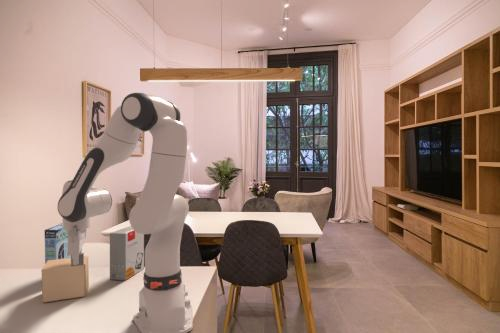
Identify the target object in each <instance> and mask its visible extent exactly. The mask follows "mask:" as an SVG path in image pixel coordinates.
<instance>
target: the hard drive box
mask: <svg viewBox="0 0 500 333" xmlns="http://www.w3.org/2000/svg"><path fill="white" fill-rule="evenodd" d="M142 270H145V234H139V233H137V232H136V231H135V230H134V229H133V228H132V227H131V225H129V226H126V227H124V228H120V229H117V230H115V231H112V232H110V233H109V280H115V281H127V280H128V279H131V278H132V277H134V275H137V274H138V273H140V272H142Z"/></svg>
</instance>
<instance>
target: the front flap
mask: <svg viewBox="0 0 500 333" xmlns="http://www.w3.org/2000/svg"><path fill="white" fill-rule="evenodd" d="M84 256H85V253H84V252H82V253H80V254H79V264H77V265H73V259H72V255H71V266H63V267H54V268H46V269H41V290H42V289H43V302H44V303H49V302H48V301H51V302H56V301H55V300H58V301H62V300H61V299H64V300H69V299H68V298H71V299H76V298H75V297H77V298H82V297H81V296H84V297H86V296H85V291H84ZM43 302H42V303H43Z"/></svg>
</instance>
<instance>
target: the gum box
mask: <svg viewBox="0 0 500 333" xmlns="http://www.w3.org/2000/svg"><path fill="white" fill-rule="evenodd" d="M65 258H71V256H69V255H68V234H67V230H63V222H62V223H59V224H57V225H55V226H52V227H49V228H47V229H44V265H45V264H46V263H47V261H48V260H56V259H65Z"/></svg>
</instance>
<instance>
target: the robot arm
mask: <svg viewBox="0 0 500 333" xmlns="http://www.w3.org/2000/svg"><path fill="white" fill-rule="evenodd" d="M142 132H144V133H145V132H149V134H151V136H152V144H151V145H152V146H151V153H150V160H149V168H148V173H147V177H146V180H145V183H144V187H143V189H142V191H141V194H140V196H139V198H138V200H137V201H136V203H135V204H134V205H133V206H132V208H131V209H130V211H129V216H128V221H129V226H131V227H132V228H133V229H134V230H135V231H136V232H137V233H139V234H144V235H150V238H149V240H148V241H147V242H148V243H147V244H146V246H145V247H144V272H143V277H142V278H143V287H142V288H141V289H140V291H139V292H138V312H137V313H135V314H133V315H132V320H133V321H134V323H135V325H136V327H137V329H138V330H139V332H140V333H188V332H191V331H193V328H194V327H193V326H194V325H193V323H194V322H193V305H192V304H191V299H186V297H188V296H189V295H188V294H189V292H188V291H186V284H185V283H184V282H183V280H182V277H183V276H182V274H183V273H182V269H181V262H180V260H181V256H180V255H181V250H180V249H181V241H182V236H183V230H184V226H185V222H186V218H187V216H188V214H189V212H190V205H189V202H188V201H187V199H186V198H185V197H184V196H182V195H180V194H177V192H178V189H179V187H180V186H181V185H182V182H183V181H184V176H185V169H186V161H187V155H188V154H187V152H188V131H187V127H186V125H185V124H184V123H183V122H181V112H180V109H179V108H178V107H177V105H175V104H174V103H173V102H172V101H171V102H170V101H168V100H166V99H163V98H160V97H159V96H156V95H152V94H146V93H144V92H132V93H129V94H127V95H126V96H125V97H124V99H123V100H122V103H121V104H120V105H119V106H118V107H116V109H115V110H114V112H113V113H112V115H111V117H110V118H109V120H108V123H107V124H106V126H105V129H104V131H103V133H102V136H101V137H100V139H99V140H98V142H97V144H96V145H95V146H94V147H93V148H92V149H91V150H90V151H89V152H88V153H87V154H86V156H85V157H84V159H83V161H82V162H81V164H80V166H79V168H78V169H77V171H76V172H75V176H74V177H73V179H72V180H70V179H69V180H67V181H66V182H64V184H63V186H62V192H61V193H62V194H61V196H60V198H59V200H58V202H57V211H58V214H59V215H60V217H61V218H62V223H63V230H67V234H68V255H69V256H71V255H72V259H73V265H77V264H79V254H80V253H83V252H82V251H83V247H84V243H85V242H86V236H87V229H89V228H90V227H91V218H93V217H98V216H102V215H105V214H107V213H109V211H110V210H111V209H112V205H113V198H112V195H111V193H110V192H109V191H108V190H106V189H104V188H101V187H98V186H95V185H94V184H95V182H96V179H97V178H98V176H99V175H100V174H101V173H102V172H103V171H105V170H106V169H108V168H110V167H112V166H115V165H118V164H121V163H124V162H125V161H127V160H128V159H129V158H130V157H131V156H132V155H133V153H134V151H135V149H136V147H137V144H138V141H139V139H140V136H141V134H142Z"/></svg>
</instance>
